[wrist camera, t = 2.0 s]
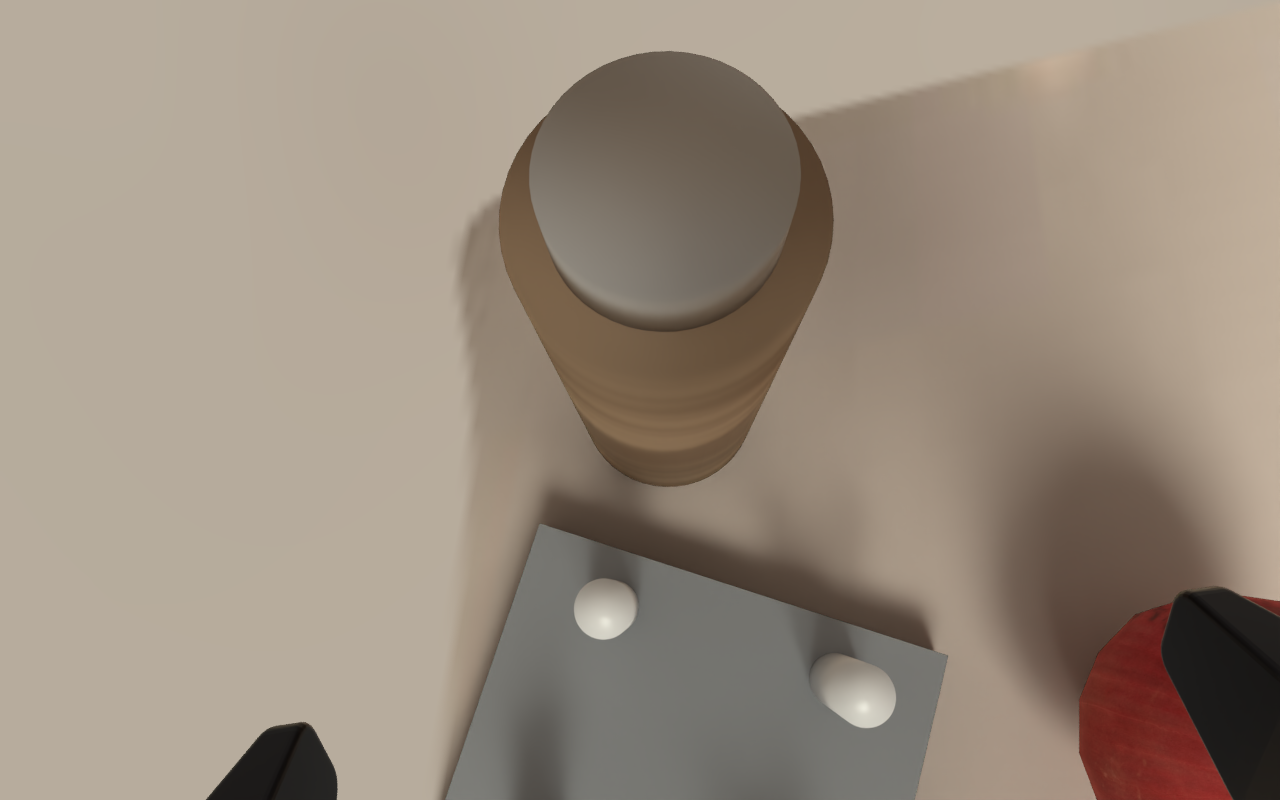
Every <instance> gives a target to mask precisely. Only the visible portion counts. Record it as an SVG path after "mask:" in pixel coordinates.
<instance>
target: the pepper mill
mask: <svg viewBox="0 0 1280 800" xmlns="http://www.w3.org/2000/svg"><path fill="white" fill-rule="evenodd" d="M833 221H834V220H833V206H832V198H831V193H830V188H829V184H828V180H827V177H826V174H825V172H824V169H823V166H822V164H821V161H820V159H819V157H818V155H817V154H816V152H815V150H814V148H813V146H812V144H811V143H810V141H809V140H808V139H807V137H806V136H805V134H804V133H803V132H802V130H801V129H800V128H799V126H798V125H797V124H796V123H795V122H794V121H793V120H792V119H791V118H790V117H789V116H788V115H787V114H786V113H785V112H784V111H783V110H782V109H781V108H779V106H778V105H777V104H776V102H775V101H774V99H772V97H771V96H770V95H769V94H768V93H767V92H766V91H765V90H764V89H763V88H762V87H761V86H760V85H758V84H757V83H756V82H755V81H753V80H752V79H751V78H750V77H748V76H747V75H745V74H743V73H742V72H740V71H739V70H737V69H735V68H733V67H731V66H729V65H727V64H725V63H723V62H720V61H718V60H715V59H711V58H708V57H705V56H701V55H696V54H691V53H684V52H672V51H666V52H649V53H643V54H636V55H632V56H629V57H625V58H621V59H618V60H616V61H613V62H611V63H608V64H606V65H603V66H602V67H600V68H598V69H596V70H594V71H593V72H591V73H589V74H588V75H586V76H585V77H583V78H582V79H581V80H579V81H578V82H577V83H575V84H574V85H573V86H572V87H571V88H570V89H569V90H568V91H567V92H565V93H564V94H563V95H562V96H561V98H560V99H559V100H558V101H557V102H556V104H555V105H554V106H553V107H552V109H551V110H550V112H549V114H548V115H547V116H545V117H544V118H543V119H542V120H541V121H540V122H539V124H538V125H537V126H536V127H535V128H534V130H533V131H532V132H531V133H530V134H529V136H528V137H527V139H526V140H525V142H524V143H523V145H522V146H521V148H520V150H519V151H518V153H517V155H516V157H515V159H514V161H513V163H512V165H511V168H510V170H509V172H508V175H507V178H506V182H505V185H504V188H503V192H502V198H501V204H500V210H499V236H500V244H501V252H502V255H503V259H504V263H505V267H506V270H507V273H508V275H509V278H510V280H511V282H512V285H513V287H514V289H515V291H516V293H517V295H518V297H519V299H520V301H521V303H522V305H523V307H524V309H525V311H526V313H527V315H528V317H529V319H530V321H531V322H532V324H533V326H534V328H535V330H536V332H537V334H538V336H539V338H540V340H541V342H542V344H543V346H544V348H545V350H546V351H547V353H548V355H549V357H550V359H551V361H552V363H553V365H554V367H555V369H556V371H557V373H558V375H559V377H560V379H561V380H562V382H563V384H564V386H565V388H566V390H567V392H568V394H569V396H570V398H571V400H572V402H573V404H574V406H575V408H576V410H577V411H578V413H579V415H580V417H581V419H582V421H583V423H584V425H585V427H586V429H587V431H588V433H589V435H590V437H591V439H592V440H593V442H594V444H595V446H596V447H597V449H598V451H599V452H600V453H601V454H602V456H603V457H604V458H605V459H606V460H607V461H608V462H609V463H610V464H611V465H612V466H613V467H614V468H616V469H617V470H618V471H620V472H621V473H623V474H624V475H626V476H628V477H630V478H632V479H634V480H637V481H639V482H642V483H645V484H650V485H654V486H663V487H671V486H682V485H688V484H691V483H695V482H698V481H700V480H702V479H705V478H707V477H709V476H711V475H712V474H714V473H716V472H717V471H719V470H720V469H721V468H722V467H723V466H725V465H726V464H727V463H728V462H729V461H730V460H731V459H732V458H733V457H734V455H735V454H736V453H737V451H738V450H739V449H740V447H741V445H742V443H743V441H744V440H745V438H746V436H747V434H748V431H749V429H750V427H751V425H752V423H753V421H754V419H755V417H756V415H757V413H758V411H759V409H760V406H761V404H762V402H763V400H764V398H765V396H766V394H767V392H768V390H769V388H770V386H771V383H772V381H773V379H774V377H775V375H776V373H777V371H778V369H779V367H780V365H781V363H782V360H783V358H784V356H785V354H786V352H787V350H788V348H789V346H790V344H791V342H792V340H793V338H794V335H795V333H796V331H797V329H798V327H799V325H800V323H801V321H802V319H803V317H804V315H805V312H806V310H807V308H808V306H809V304H810V302H811V300H812V298H813V296H814V294H815V292H816V289H817V287H818V285H819V283H820V281H821V278H822V276H823V273H824V270H825V268H826V265H827V262H828V258H829V253H830V249H831V244H832V236H833Z"/></svg>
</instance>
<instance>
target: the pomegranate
mask: <svg viewBox="0 0 1280 800" xmlns="http://www.w3.org/2000/svg"><path fill="white" fill-rule="evenodd" d="M1243 597H1245V598H1246V599H1248V600H1250V601H1252V602H1254V603H1256V604H1258V605H1259V606H1261V607H1263V608H1265V609H1267V610H1269V611H1271V612H1272V613H1274V614H1276V615H1278V616H1280V601H1274V600H1267V599H1261V598H1254V597H1247V596H1243ZM1172 604H1173V603H1170V604H1167V605H1163V606H1160V607H1157V608H1154V609H1151V610H1148V611H1145V612H1142V613H1139V614H1135V615H1134V616H1133V617H1132V618H1131V619H1130V620H1129V621H1128V623H1127V624H1126V625H1125V626H1124V627H1123V628H1122V629H1121V630H1120V631H1119V632H1118V633H1117V634H1116V635H1115V636H1114V637H1113V638H1112V639H1111V640H1110V641H1109V642H1108V643H1107V644H1106V645H1105V646H1104V647H1103V648H1102V649H1101V650H1100V651H1099V653H1098V655H1097V658H1096V660H1095V663H1094V665H1093V667H1092V670H1091V672H1090V675H1089V677H1088V680H1087V682H1086V684H1085V687H1084V689H1083V692H1082V694H1081V696H1080V699H1079V754H1080V756H1081V759H1082V762H1083V764H1084V767H1085V770H1086V772H1087V775H1088V777H1089V780H1090V783H1091V785H1092V788H1093V791H1094V793H1095V796H1096V799H1097V800H1233V799H1232V798H1231V796H1230V794H1229V792H1228V790H1227V789H1226V787H1225V785H1224V783H1223V781H1222V779H1221V777H1220V775H1219V773H1218V771H1217V769H1216V767H1215V765H1214V763H1213V761H1212V759H1211V757H1210V755H1209V753H1208V751H1207V749H1206V748H1205V746H1204V744H1203V742H1202V740H1201V738H1200V736H1199V734H1198V732H1197V730H1196V728H1195V726H1194V724H1193V722H1192V720H1191V718H1190V716H1189V714H1188V712H1187V710H1186V708H1185V706H1184V704H1183V702H1182V700H1181V699H1180V697H1179V695H1178V693H1177V691H1176V689H1175V687H1174V685H1173V683H1172V681H1171V679H1170V677H1169V675H1168V673H1167V671H1166V669H1165V666H1164V664H1163V661H1162V656H1161V642H1162V638H1163V635H1164V631H1165V628H1166V625H1167V621H1168V618H1169V614H1170V611H1171V608H1172Z"/></svg>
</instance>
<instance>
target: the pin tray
mask: <svg viewBox="0 0 1280 800" xmlns="http://www.w3.org/2000/svg"><path fill="white" fill-rule="evenodd" d="M947 659H948V655H945V654H942V653H938V652H935V651H932V650H929V649H926V648H923V647H920V646H917V645H914V644H911V643H908V642H905V641H901V640H898V639H895V638H892V637H889V636H886V635H883V634H880V633H877V632H874V631H871V630H867V629H864V628H861V627H858V626H855V625H852V624H849V623H846V622H843V621H840V620H837V619H834V618H830V617H827V616H824V615H821V614H818V613H815V612H812V611H809V610H806V609H803V608H800V607H796V606H793V605H790V604H787V603H784V602H781V601H778V600H775V599H772V598H769V597H766V596H763V595H759V594H756V593H753V592H750V591H747V590H744V589H741V588H738V587H735V586H732V585H729V584H725V583H722V582H719V581H716V580H713V579H710V578H707V577H704V576H701V575H698V574H695V573H691V572H688V571H685V570H682V569H679V568H676V567H673V566H670V565H667V564H664V563H661V562H658V561H654V560H651V559H648V558H645V557H642V556H639V555H636V554H633V553H630V552H627V551H624V550H620V549H617V548H614V547H611V546H608V545H605V544H602V543H599V542H596V541H593V540H590V539H587V538H583V537H580V536H577V535H574V534H571V533H568V532H565V531H562V530H559V529H556V528H553V527H549V526H546V525H543V524H539V527H538V530H537V533H536V536H535V539H534V542H533V545H532V548H531V550H530V553H529V556H528V559H527V562H526V565H525V568H524V571H523V574H522V577H521V580H520V583H519V586H518V588H517V591H516V594H515V597H514V600H513V603H512V606H511V609H510V612H509V615H508V618H507V621H506V624H505V626H504V629H503V632H502V635H501V638H500V641H499V644H498V647H497V650H496V653H495V656H494V659H493V662H492V664H491V667H490V670H489V673H488V676H487V679H486V682H485V685H484V688H483V691H482V694H481V697H480V700H479V702H478V705H477V708H476V711H475V714H474V717H473V720H472V723H471V726H470V729H469V732H468V735H467V738H466V740H465V743H464V746H463V749H462V752H461V755H460V758H459V761H458V764H457V767H456V770H455V773H454V776H453V778H452V781H451V784H450V787H449V790H448V793H447V796H446V799H445V800H915V796H916V792H917V788H918V783H919V779H920V775H921V771H922V766H923V762H924V758H925V753H926V749H927V745H928V740H929V736H930V732H931V728H932V723H933V719H934V715H935V710H936V706H937V702H938V698H939V693H940V689H941V685H942V680H943V676H944V672H945V667H946V663H947Z"/></svg>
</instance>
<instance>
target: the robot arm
mask: <svg viewBox="0 0 1280 800" xmlns="http://www.w3.org/2000/svg"><path fill="white" fill-rule="evenodd" d="M1161 656H1162V661H1163V664H1164V666H1165V669H1166V671H1167V673H1168V675H1169V677H1170V679H1171V681H1172V683H1173V685H1174V687H1175V689H1176V691H1177V693H1178V695H1179V697H1180V699H1181V700H1182V702H1183V704H1184V706H1185V708H1186V710H1187V712H1188V714H1189V716H1190V718H1191V720H1192V722H1193V724H1194V726H1195V728H1196V730H1197V732H1198V734H1199V736H1200V738H1201V740H1202V742H1203V744H1204V746H1205V748H1206V749H1207V751H1208V753H1209V755H1210V757H1211V759H1212V761H1213V763H1214V765H1215V767H1216V769H1217V771H1218V773H1219V775H1220V777H1221V779H1222V781H1223V783H1224V785H1225V787H1226V789H1227V790H1228V792H1229V794H1230V796H1231V798H1232V799H1233V800H1280V616H1278V615H1276V614H1274V613H1272V612H1271V611H1269V610H1267V609H1265V608H1263V607H1261V606H1259V605H1258V604H1256V603H1254V602H1252V601H1250V600H1248V599H1246V598H1245V597H1243V596H1241V595H1239V594H1237V593H1235V592H1233V591H1231V590H1229V589H1227V588H1223V587H1218V586H1212V587H1205V588H1198V589H1191V590H1185V591H1182V592H1180V593H1179V594H1178V595H1177V596H1176V597H1175V599H1174V601H1173V604H1172V608H1171V611H1170V614H1169V618H1168V621H1167V625H1166V628H1165V631H1164V635H1163V638H1162V642H1161ZM206 800H337V776H336V772H335V769H334V766H333V764H332V762H331V760H330V759H329V757H328V755H327V753H326V751H325V749H324V747H323V745H322V743H321V741H320V740H319V738H318V736H317V734H316V732H315V730H314V729H313V727H312V726H311V725H309V724H308V723H306V722H299V723H293V724H286V725H279V726H274V727H271V728H269V729H267V730H266V731H265V732H263V733H262V734H261V735H260V736H259V737H258V738H257V740H256V741H255V742H254V743H253V744H252V745H251V747H250V748H249V749H248V750H247V751H246V753H245V754H244V755H243V756H242V757H241V759H240V760H239V761H238V762H237V763H236V765H235V766H234V767H233V768H232V770H230V772H229V773H228V774H227V775H226V776H225V778H224V779H223V780H222V781H221V782H220V784H219V785H218V786H217V787H216V788H215V790H214V791H213V792H212V793H211V794H210V795H209V797H208V798H207V799H206Z"/></svg>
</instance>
